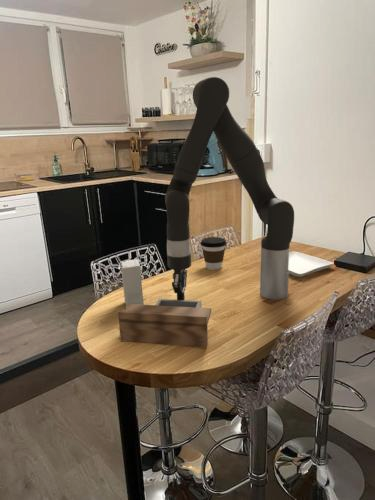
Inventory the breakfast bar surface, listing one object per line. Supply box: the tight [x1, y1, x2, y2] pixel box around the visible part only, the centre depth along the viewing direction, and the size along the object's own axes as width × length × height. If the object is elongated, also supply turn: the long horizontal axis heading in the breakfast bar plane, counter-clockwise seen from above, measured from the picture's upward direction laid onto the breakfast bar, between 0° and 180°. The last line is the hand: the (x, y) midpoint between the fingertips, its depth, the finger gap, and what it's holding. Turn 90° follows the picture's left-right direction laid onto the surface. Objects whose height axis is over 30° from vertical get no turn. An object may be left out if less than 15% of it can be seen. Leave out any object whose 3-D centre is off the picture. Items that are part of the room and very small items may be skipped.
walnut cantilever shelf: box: [117, 304, 212, 349], centre depth 106 cm, size 24×10×9 cm, turn 79°
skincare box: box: [120, 259, 145, 309], centre depth 126 cm, size 8×6×15 cm
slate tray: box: [154, 298, 202, 308], centre depth 116 cm, size 14×18×3 cm
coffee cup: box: [199, 236, 228, 271], centre depth 160 cm, size 11×11×12 cm
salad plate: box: [288, 250, 335, 278], centre depth 158 cm, size 21×21×3 cm
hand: (181, 302), depth 126 cm, fingers closed
